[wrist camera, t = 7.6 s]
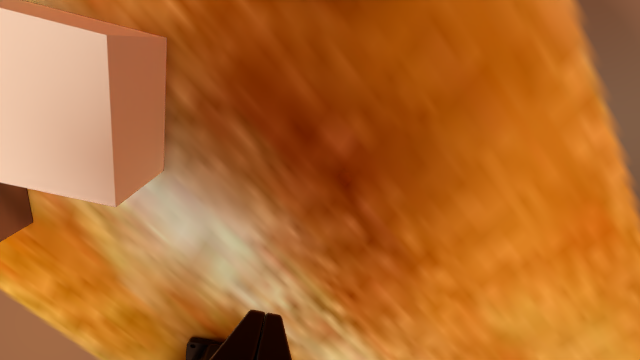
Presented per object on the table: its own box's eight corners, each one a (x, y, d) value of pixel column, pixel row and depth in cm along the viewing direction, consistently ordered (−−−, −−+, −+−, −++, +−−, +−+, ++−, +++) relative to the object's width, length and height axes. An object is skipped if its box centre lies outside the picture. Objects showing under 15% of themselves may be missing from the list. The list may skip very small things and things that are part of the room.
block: (165, 169, 19) (115, 207, 15) (21, 136, 19) (-77, 166, 14) (168, 37, 16) (106, 35, 12) (-5, -8, 15) (-144, -30, 11)
